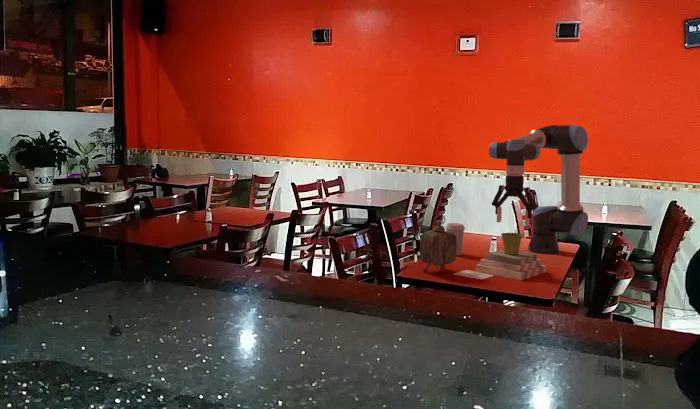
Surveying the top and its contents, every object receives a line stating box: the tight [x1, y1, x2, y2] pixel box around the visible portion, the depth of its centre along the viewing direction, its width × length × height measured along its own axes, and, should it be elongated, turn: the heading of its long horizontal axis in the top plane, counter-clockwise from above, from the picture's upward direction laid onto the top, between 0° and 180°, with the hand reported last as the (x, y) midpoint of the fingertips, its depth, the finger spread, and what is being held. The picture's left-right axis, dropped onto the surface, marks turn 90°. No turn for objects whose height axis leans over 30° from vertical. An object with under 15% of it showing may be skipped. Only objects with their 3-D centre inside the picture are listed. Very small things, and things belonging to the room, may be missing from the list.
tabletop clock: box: [419, 214, 457, 273], centre depth 271 cm, size 14×9×25 cm, turn 127°
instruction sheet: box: [453, 269, 495, 281], centre depth 268 cm, size 10×14×1 cm
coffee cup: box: [445, 222, 466, 256], centre depth 310 cm, size 10×10×15 cm
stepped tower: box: [474, 248, 547, 281], centre depth 274 cm, size 22×22×8 cm
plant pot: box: [500, 232, 524, 255], centre depth 273 cm, size 9×9×9 cm
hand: (512, 223), depth 272 cm, fingers open, 13 cm apart
